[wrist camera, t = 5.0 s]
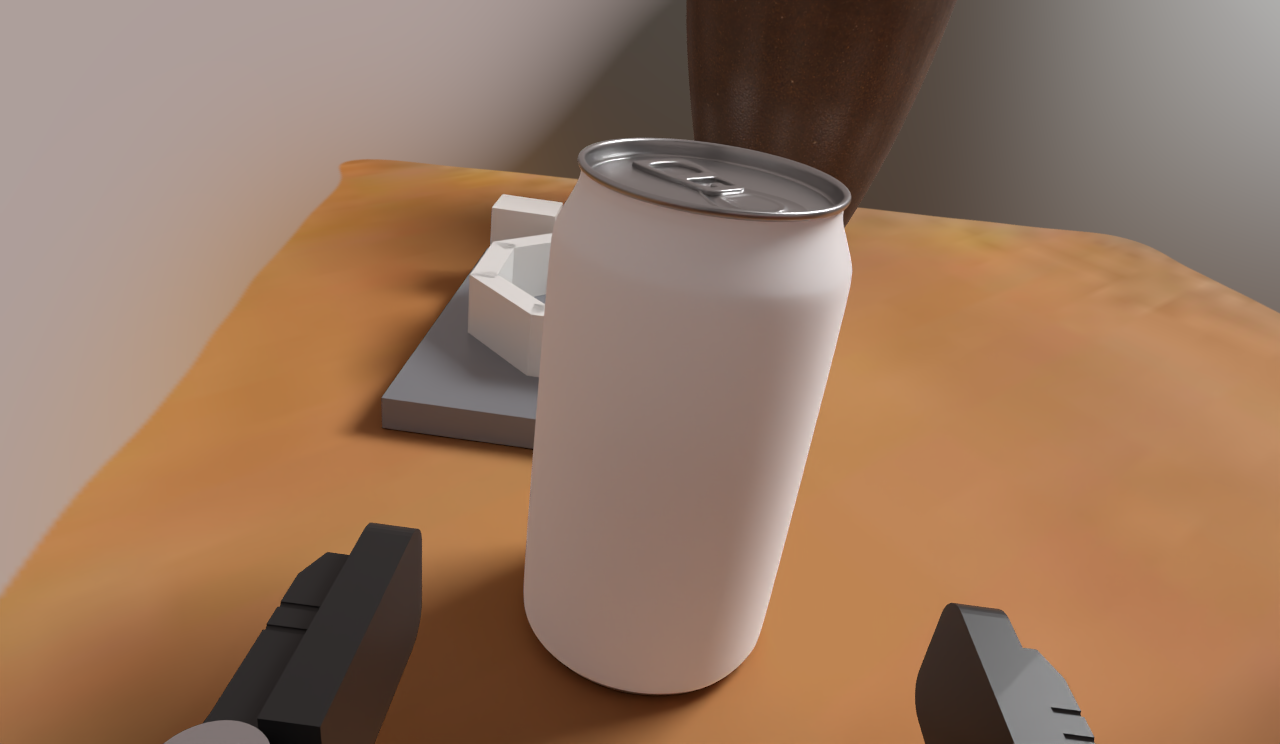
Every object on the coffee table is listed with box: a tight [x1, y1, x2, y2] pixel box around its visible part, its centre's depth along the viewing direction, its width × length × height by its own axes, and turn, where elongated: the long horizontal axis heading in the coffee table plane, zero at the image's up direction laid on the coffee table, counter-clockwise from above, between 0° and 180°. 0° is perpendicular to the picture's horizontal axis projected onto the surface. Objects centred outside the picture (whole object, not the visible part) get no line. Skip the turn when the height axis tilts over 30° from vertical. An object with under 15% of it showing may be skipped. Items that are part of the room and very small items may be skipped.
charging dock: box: [381, 194, 563, 449], centre depth 35 cm, size 13×16×4 cm
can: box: [524, 138, 852, 695], centre depth 20 cm, size 6×6×12 cm
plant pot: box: [687, 0, 957, 228], centre depth 49 cm, size 15×15×16 cm
